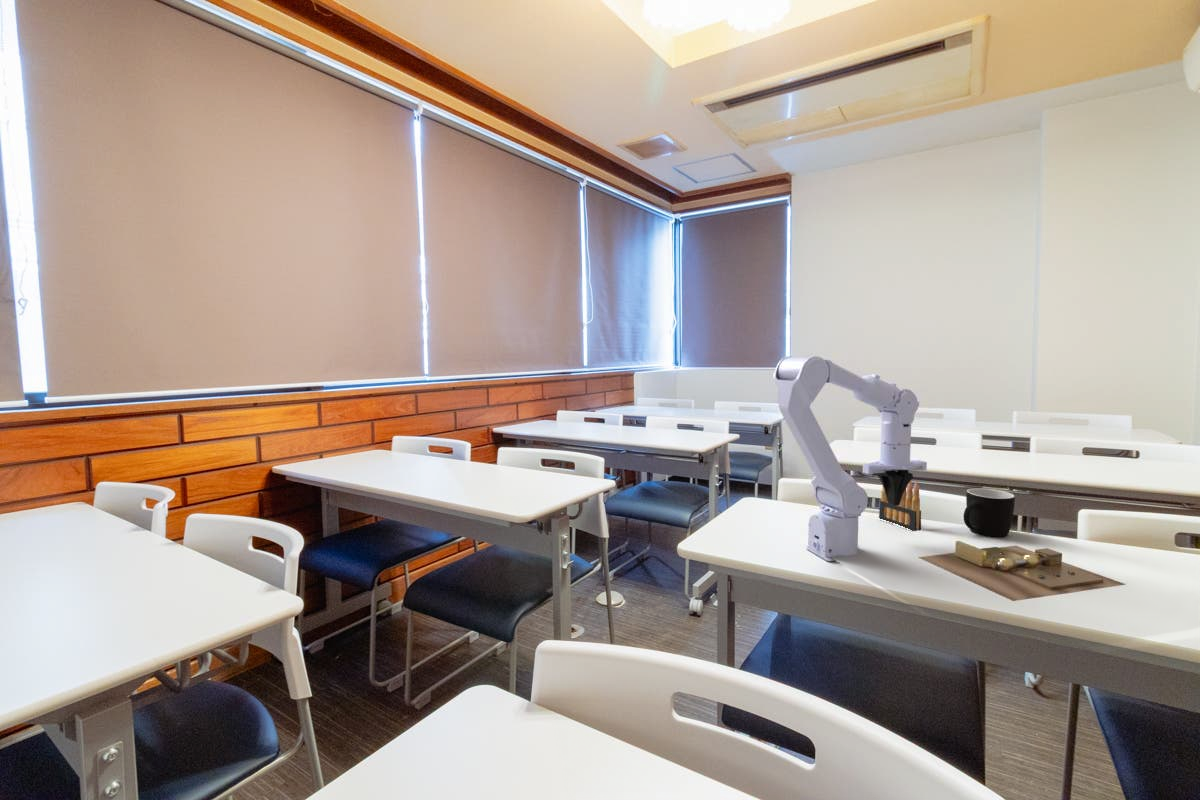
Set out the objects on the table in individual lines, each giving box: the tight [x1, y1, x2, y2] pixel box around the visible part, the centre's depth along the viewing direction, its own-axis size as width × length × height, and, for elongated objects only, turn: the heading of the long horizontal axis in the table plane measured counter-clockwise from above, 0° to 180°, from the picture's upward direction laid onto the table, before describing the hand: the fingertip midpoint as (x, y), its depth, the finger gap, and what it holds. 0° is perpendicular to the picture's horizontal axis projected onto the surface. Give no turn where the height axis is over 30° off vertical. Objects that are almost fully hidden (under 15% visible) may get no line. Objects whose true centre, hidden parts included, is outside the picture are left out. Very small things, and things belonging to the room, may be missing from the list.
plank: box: [918, 545, 1126, 602], centre depth 102 cm, size 25×20×1 cm
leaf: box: [954, 540, 1046, 571], centre depth 106 cm, size 15×10×3 cm, turn 103°
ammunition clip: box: [878, 480, 922, 532], centre depth 131 cm, size 11×2×12 cm, turn 19°
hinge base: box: [1012, 547, 1103, 590], centre depth 99 cm, size 12×10×3 cm
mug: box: [963, 487, 1016, 539], centre depth 122 cm, size 12×9×10 cm
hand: (893, 504), depth 117 cm, fingers closed
